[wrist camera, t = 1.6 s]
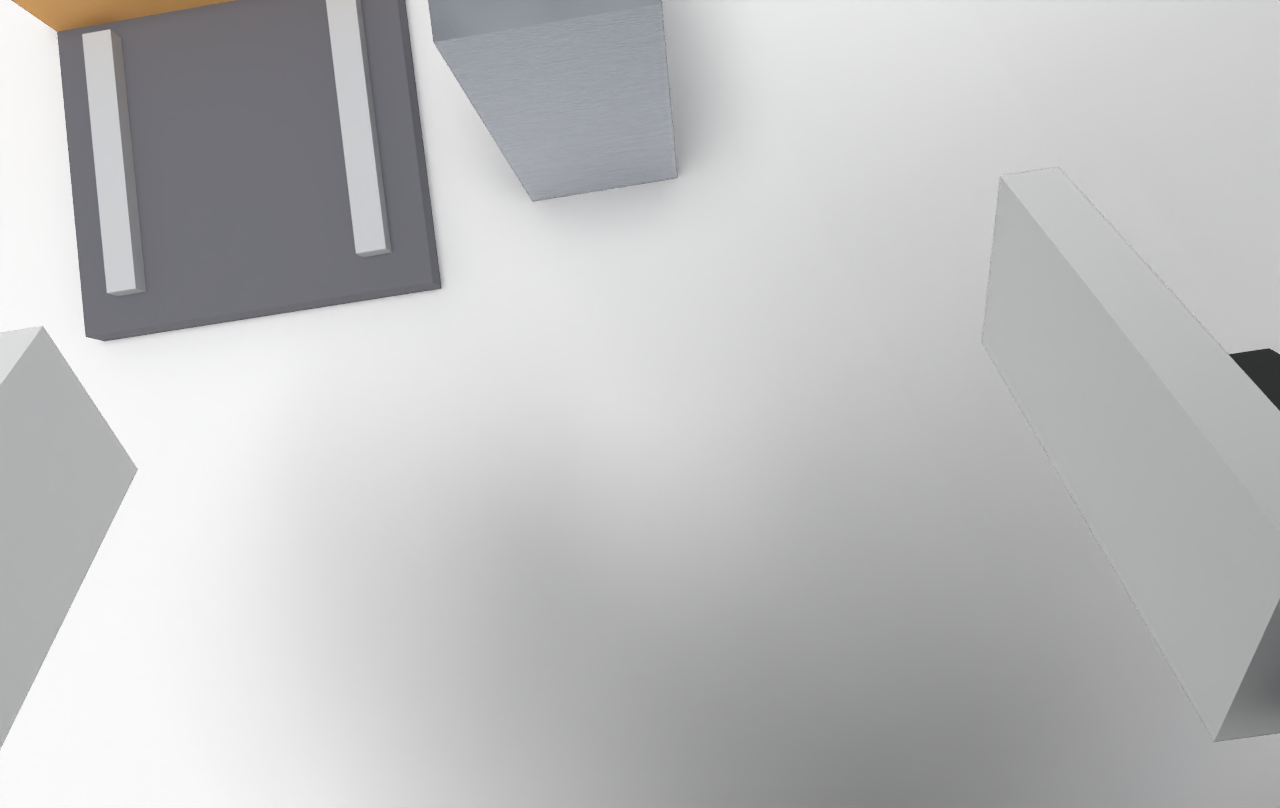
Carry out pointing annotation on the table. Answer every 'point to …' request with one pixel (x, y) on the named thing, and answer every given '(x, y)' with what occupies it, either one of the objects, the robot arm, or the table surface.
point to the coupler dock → (240, 158)
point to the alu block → (565, 88)
